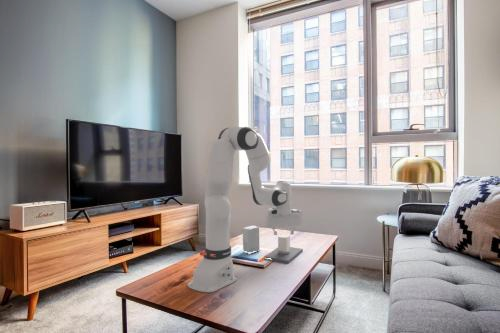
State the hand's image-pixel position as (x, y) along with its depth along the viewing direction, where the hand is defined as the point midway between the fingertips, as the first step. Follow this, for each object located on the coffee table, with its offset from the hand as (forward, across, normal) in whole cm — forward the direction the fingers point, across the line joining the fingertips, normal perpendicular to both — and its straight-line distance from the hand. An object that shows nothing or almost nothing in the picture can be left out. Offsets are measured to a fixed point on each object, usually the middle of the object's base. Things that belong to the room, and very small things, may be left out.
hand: (283, 234), depth 162 cm
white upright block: (+9, 0, 0) cm, 9 cm away
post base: (+12, 0, 0) cm, 12 cm away
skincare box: (+12, +18, -8) cm, 23 cm away
